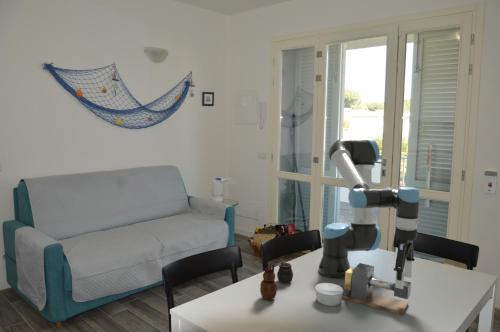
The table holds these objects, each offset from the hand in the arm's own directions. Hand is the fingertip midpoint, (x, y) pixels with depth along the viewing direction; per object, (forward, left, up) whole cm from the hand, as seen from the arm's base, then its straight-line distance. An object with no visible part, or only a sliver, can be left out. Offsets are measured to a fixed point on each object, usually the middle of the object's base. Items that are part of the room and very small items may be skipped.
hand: (403, 282), depth 151 cm
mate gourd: (-50, -4, -11) cm, 51 cm away
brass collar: (-21, 0, -4) cm, 21 cm away
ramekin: (-26, -10, -11) cm, 30 cm away
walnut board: (-12, 0, -11) cm, 16 cm away
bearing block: (-16, 0, -10) cm, 19 cm away
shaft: (-10, 0, -5) cm, 12 cm away
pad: (-21, 0, -10) cm, 23 cm away
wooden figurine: (-47, -22, -11) cm, 53 cm away
